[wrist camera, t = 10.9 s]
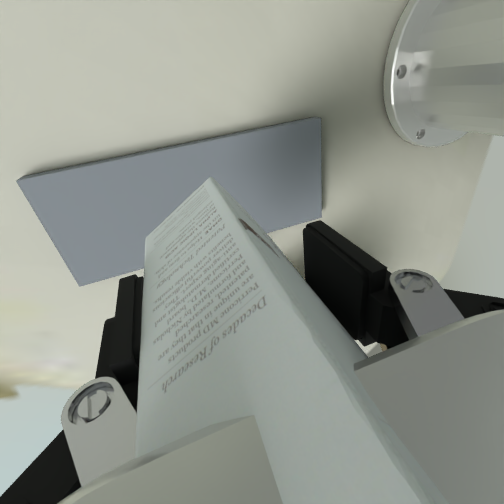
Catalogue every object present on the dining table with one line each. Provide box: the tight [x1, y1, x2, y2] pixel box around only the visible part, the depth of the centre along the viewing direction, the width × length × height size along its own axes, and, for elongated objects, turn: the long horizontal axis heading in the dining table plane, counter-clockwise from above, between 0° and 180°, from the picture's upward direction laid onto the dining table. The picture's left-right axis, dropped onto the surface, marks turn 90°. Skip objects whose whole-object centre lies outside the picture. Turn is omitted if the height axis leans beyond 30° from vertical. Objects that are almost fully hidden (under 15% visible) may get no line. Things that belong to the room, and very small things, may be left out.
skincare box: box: [135, 177, 449, 504], centre depth 9 cm, size 6×4×12 cm
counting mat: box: [16, 117, 322, 287], centre depth 21 cm, size 20×8×1 cm, turn 98°
